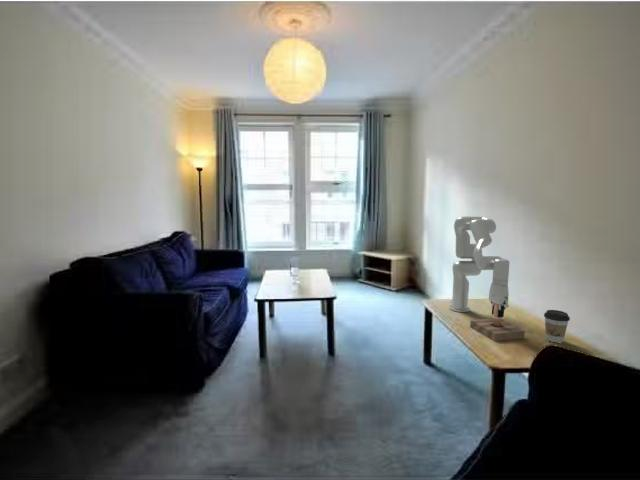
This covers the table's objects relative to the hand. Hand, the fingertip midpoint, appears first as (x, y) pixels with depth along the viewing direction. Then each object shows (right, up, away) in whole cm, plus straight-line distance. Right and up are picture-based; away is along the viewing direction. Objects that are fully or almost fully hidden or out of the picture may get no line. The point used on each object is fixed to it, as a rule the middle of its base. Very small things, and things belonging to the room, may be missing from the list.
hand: (497, 315), depth 205 cm
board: (0, -10, +1) cm, 10 cm away
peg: (0, -5, +1) cm, 5 cm away
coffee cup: (+25, -12, -9) cm, 29 cm away
